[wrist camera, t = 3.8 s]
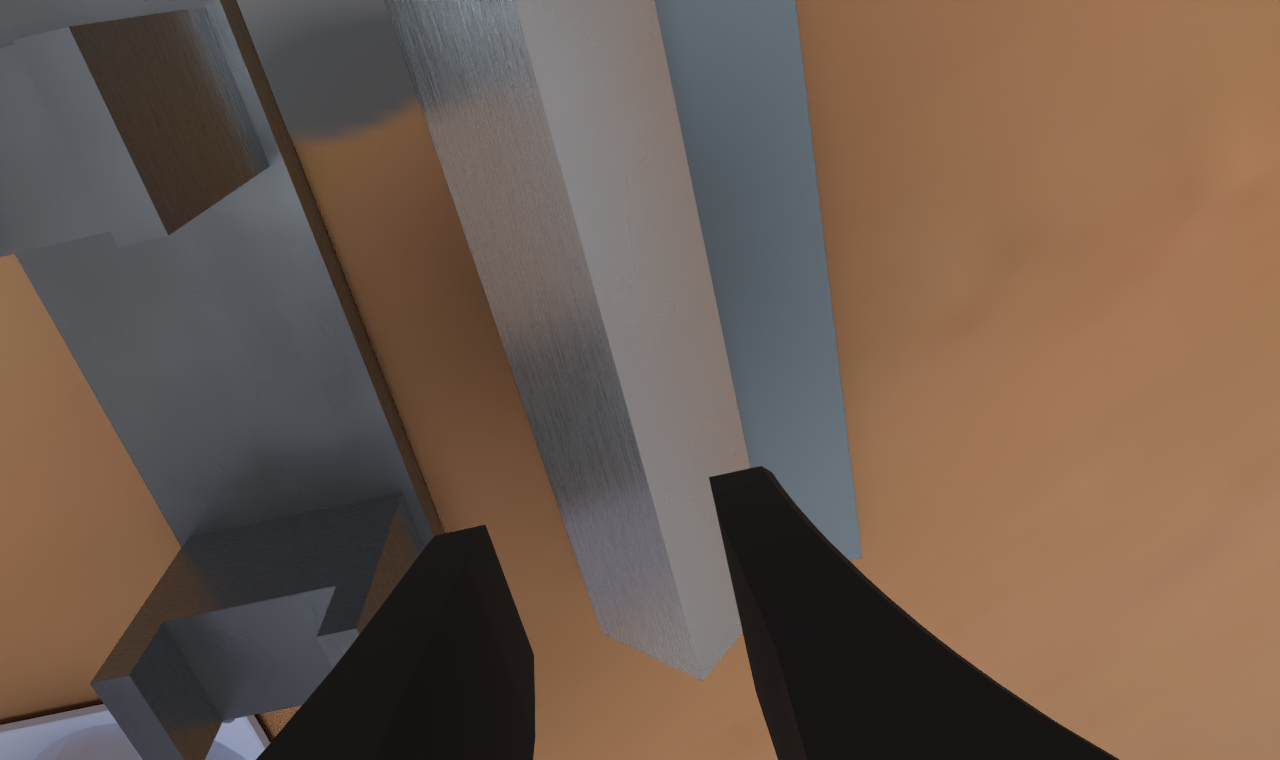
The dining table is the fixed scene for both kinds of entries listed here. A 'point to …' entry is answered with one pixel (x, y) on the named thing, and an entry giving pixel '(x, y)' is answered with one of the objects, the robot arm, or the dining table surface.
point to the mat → (765, 242)
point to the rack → (206, 353)
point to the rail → (595, 292)
